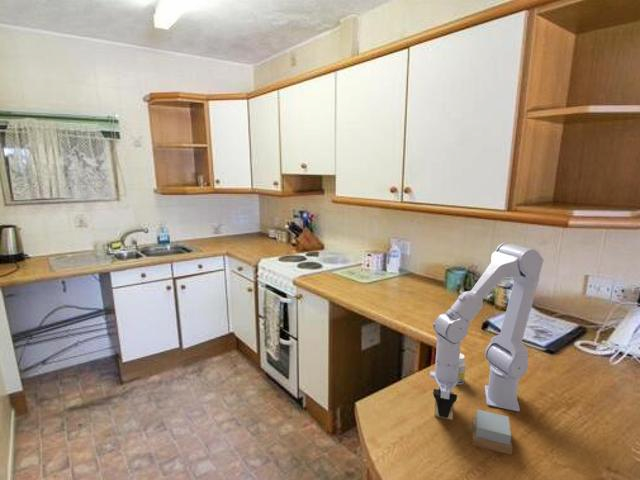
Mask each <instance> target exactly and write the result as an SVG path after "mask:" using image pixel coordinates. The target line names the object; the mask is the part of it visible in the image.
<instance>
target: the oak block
mask: <svg viewBox="0 0 640 480" xmlns="http://www.w3.org/2000/svg"><path fill="white" fill-rule="evenodd" d="M450 393H451V394H455V393H454V392H452V391H451V392H450ZM434 399H435V398H434ZM454 404H455V403H454ZM454 404H453V405H452V407H451V410H450V413H449V416H448V418H445V417H440V416H439V413H438V406H437V402H436V399H435V400H434V415H433V416H434V417H437V418H441V419H442V418H443V419H447V420H452V421H453V419H454V418H453V417H454Z"/></svg>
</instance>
